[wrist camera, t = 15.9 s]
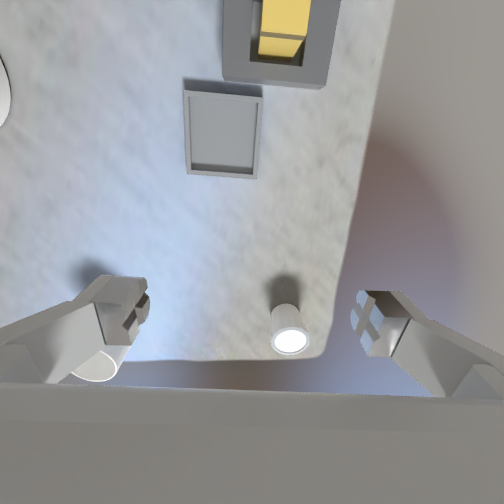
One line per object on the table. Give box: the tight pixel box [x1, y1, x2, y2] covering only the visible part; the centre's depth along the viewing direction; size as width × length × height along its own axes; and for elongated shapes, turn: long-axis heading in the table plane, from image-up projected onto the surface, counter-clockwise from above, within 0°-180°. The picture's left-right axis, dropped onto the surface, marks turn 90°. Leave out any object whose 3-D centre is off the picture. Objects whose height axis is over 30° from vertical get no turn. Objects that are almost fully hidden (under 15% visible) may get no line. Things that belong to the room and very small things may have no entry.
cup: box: [71, 325, 140, 381], centre depth 42 cm, size 8×12×10 cm
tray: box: [183, 90, 263, 179], centre depth 32 cm, size 10×10×1 cm
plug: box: [258, 0, 311, 62], centre depth 24 cm, size 4×4×9 cm
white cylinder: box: [271, 304, 310, 355], centre depth 44 cm, size 7×7×7 cm
